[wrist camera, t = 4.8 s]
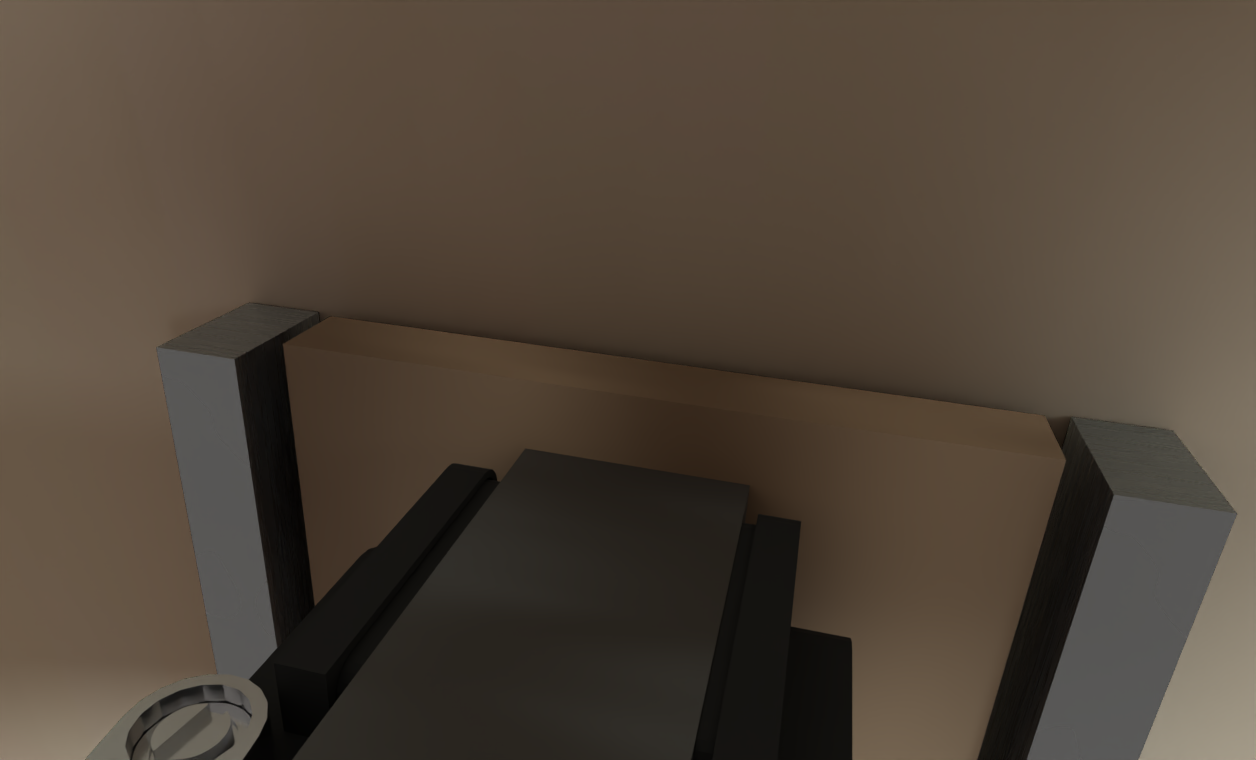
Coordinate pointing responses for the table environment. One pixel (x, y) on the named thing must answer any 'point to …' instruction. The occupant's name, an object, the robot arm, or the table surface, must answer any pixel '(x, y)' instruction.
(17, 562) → the table surface
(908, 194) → the table surface
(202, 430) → the guide rails
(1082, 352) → the table surface
